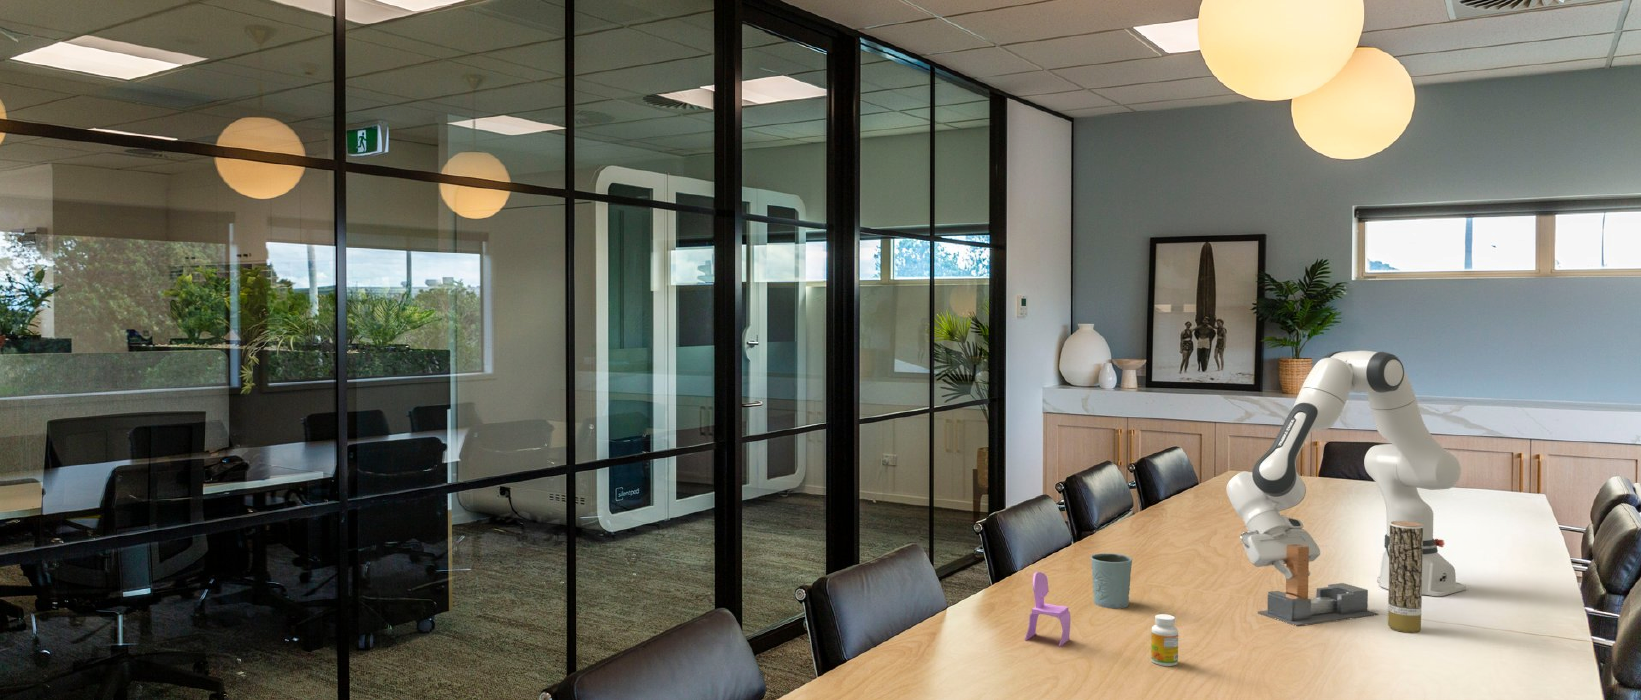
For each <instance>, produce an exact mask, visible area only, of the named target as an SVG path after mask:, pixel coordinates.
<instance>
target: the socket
mask: <svg viewBox="0 0 1641 700" xmlns="http://www.w3.org/2000/svg"><path fill="white" fill-rule="evenodd" d="M1267 610H1268V611H1267V614H1270V615H1273V616H1276V617H1279V618H1282V619H1285V620H1288V621H1291V622H1292V621H1300V620H1307V619H1311V599H1310V598H1309V597H1308V598H1304V599H1302V598H1300V597H1297V596H1294V595H1290V594H1287V593H1286V591H1284V592H1283V591H1281V590H1280V591H1279V590H1274V591H1273V590H1272V591H1268V593H1267Z"/></svg>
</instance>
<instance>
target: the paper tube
mask: <svg viewBox="0 0 1641 700" xmlns="http://www.w3.org/2000/svg"><path fill="white" fill-rule="evenodd" d="M1422 555H1423V525H1422V524H1419V523H1414V522H1406V521H1392V522H1390V541H1389V589H1388V598H1387V599H1388V600H1387V601H1388V605H1387V611H1388V612H1387V614H1388V615H1387V625H1388V627H1389V628H1390V629H1392V630H1394V631H1397V632H1401V633H1411V634H1412V633H1419V632H1420V631H1421V629H1422V606H1423V605H1422V604H1423V603H1422V601H1423V600H1422V599H1423V598H1422V597H1423V596H1422Z"/></svg>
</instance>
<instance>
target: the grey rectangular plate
mask: <svg viewBox="0 0 1641 700" xmlns="http://www.w3.org/2000/svg"><path fill="white" fill-rule="evenodd" d="M1267 611H1268V609H1267V610H1260V611H1257V614H1259V613H1260V614H1259V615H1262V614H1263V615H1262V616H1265V617H1267V618H1272V619H1274V618H1276V619H1275V620H1277V619H1279V620H1278V621H1280V620H1281V621H1280V622H1283V621H1284V622H1283V623H1286V622H1287V623H1286V624H1289V625H1292V624H1294V625H1293V626H1295V625H1296V626H1295V627H1300V626H1299V625H1302V626H1306V625H1305V624H1309V625H1315V624H1322V623H1323V622H1324V623H1330V622H1329V621H1331V622H1336V620H1338V621H1345V620H1344V619H1346V620H1350V618H1353V619H1360V618H1367V617H1374V615H1375V616H1379V613H1378V612H1376V611H1372V610H1368V611H1367V612H1359V613H1352V614H1345V615H1340V614H1337V612H1329V613H1321V614H1314V615H1311V619H1307V620H1300V621H1292V622H1291V621H1288V620H1285V619H1282V618H1279V617H1276V616H1273V615H1270V614H1267ZM1342 619H1343V620H1342ZM1324 623H1323V624H1324Z"/></svg>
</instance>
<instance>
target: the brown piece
mask: <svg viewBox="0 0 1641 700" xmlns="http://www.w3.org/2000/svg"><path fill="white" fill-rule="evenodd" d="M1309 563H1310V562H1309V547H1307V546H1303V545H1299V544H1293V545H1287V558H1286V564H1285V566H1286V567H1287V568H1288V569H1290V570H1293V572H1294V573H1295V577H1294V578H1293V579H1286V578H1285V592H1286V593H1287V594H1290V595H1294V596H1297V597H1300V598H1302V599H1304V598H1308V599H1311V615H1314V614H1321V613H1329V612H1337V600H1335V599H1332V598H1328V597H1318V598H1316V597H1312V598H1309V576H1308V571H1309V572H1310V570H1309V569H1310V568H1309Z"/></svg>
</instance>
